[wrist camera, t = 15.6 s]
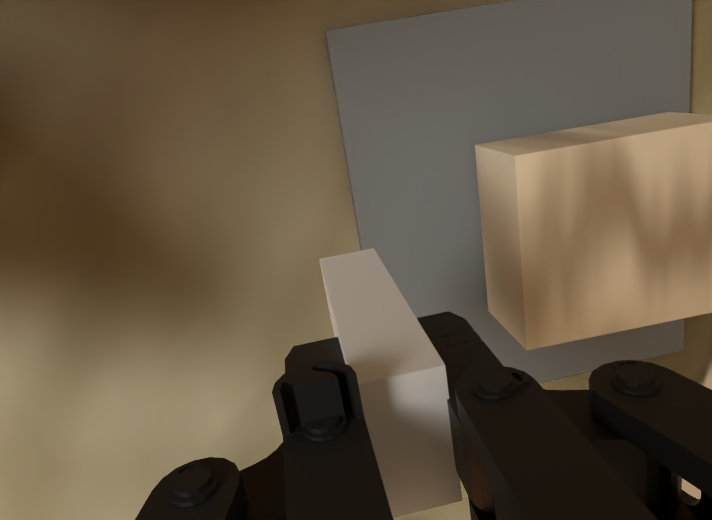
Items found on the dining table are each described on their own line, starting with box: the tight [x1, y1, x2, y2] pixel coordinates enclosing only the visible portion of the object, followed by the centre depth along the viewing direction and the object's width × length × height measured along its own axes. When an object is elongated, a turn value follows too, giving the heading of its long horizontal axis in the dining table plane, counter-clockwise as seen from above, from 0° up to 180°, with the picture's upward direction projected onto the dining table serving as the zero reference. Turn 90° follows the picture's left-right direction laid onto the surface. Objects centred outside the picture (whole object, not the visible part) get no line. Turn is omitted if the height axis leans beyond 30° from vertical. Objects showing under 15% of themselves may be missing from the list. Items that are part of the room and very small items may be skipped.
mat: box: [325, 0, 692, 383], centre depth 23 cm, size 16×14×1 cm
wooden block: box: [475, 112, 712, 350], centre depth 21 cm, size 7×4×8 cm
